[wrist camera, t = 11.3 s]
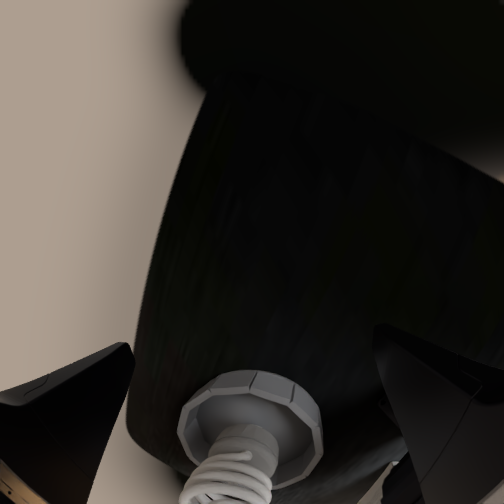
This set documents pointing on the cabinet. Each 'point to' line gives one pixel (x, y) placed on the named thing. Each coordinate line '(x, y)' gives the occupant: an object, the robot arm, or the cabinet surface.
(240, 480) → the light bulb
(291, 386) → the bowl
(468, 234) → the cabinet surface
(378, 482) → the ink cartridge box
